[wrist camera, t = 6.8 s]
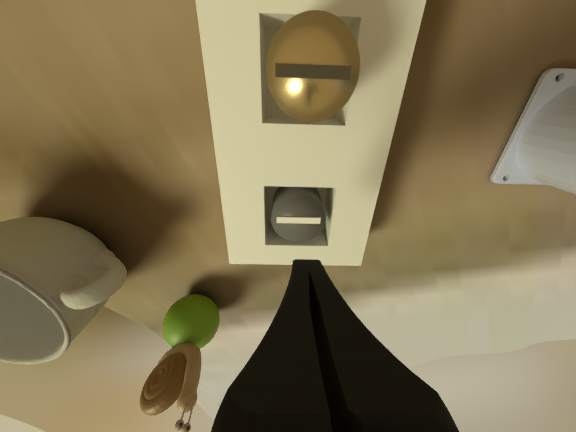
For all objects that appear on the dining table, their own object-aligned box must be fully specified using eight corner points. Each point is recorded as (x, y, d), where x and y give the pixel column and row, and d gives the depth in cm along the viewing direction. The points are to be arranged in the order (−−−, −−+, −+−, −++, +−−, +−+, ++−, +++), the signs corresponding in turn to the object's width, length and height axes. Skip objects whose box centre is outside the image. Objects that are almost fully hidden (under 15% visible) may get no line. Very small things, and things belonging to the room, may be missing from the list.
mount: (465, -326, 9) (561, -546, 6) (350, 241, 22) (360, 265, 19) (178, -349, 8) (118, -593, 5) (237, 239, 22) (229, 263, 19)
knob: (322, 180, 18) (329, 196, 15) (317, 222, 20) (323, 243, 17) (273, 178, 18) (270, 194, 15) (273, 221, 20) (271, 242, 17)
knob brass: (349, 29, 11) (369, 11, 9) (338, 116, 13) (352, 123, 11) (269, 26, 11) (264, 6, 8) (270, 114, 13) (266, 121, 10)
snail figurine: (240, 302, 26) (211, 443, 16) (198, 321, 28) (147, 460, 17) (210, 273, 24) (152, 415, 14) (166, 295, 26) (84, 438, 15)
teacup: (48, 288, 25) (-43, 366, 18) (-18, 199, 20) (-185, 261, 13) (175, 287, 25) (133, 364, 18) (144, 198, 20) (68, 259, 13)
